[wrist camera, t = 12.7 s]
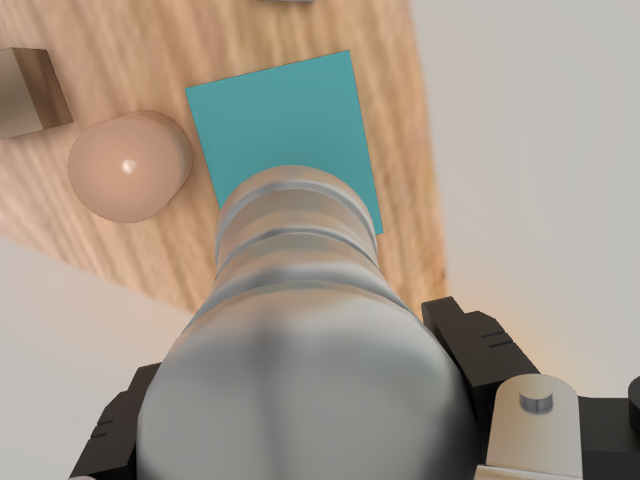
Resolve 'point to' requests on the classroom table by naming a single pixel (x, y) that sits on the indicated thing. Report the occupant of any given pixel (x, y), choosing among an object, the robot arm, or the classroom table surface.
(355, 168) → the teal mat
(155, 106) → the classroom table surface
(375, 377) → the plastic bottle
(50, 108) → the walnut block
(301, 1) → the slate grey box
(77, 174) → the beige domed cylinder
